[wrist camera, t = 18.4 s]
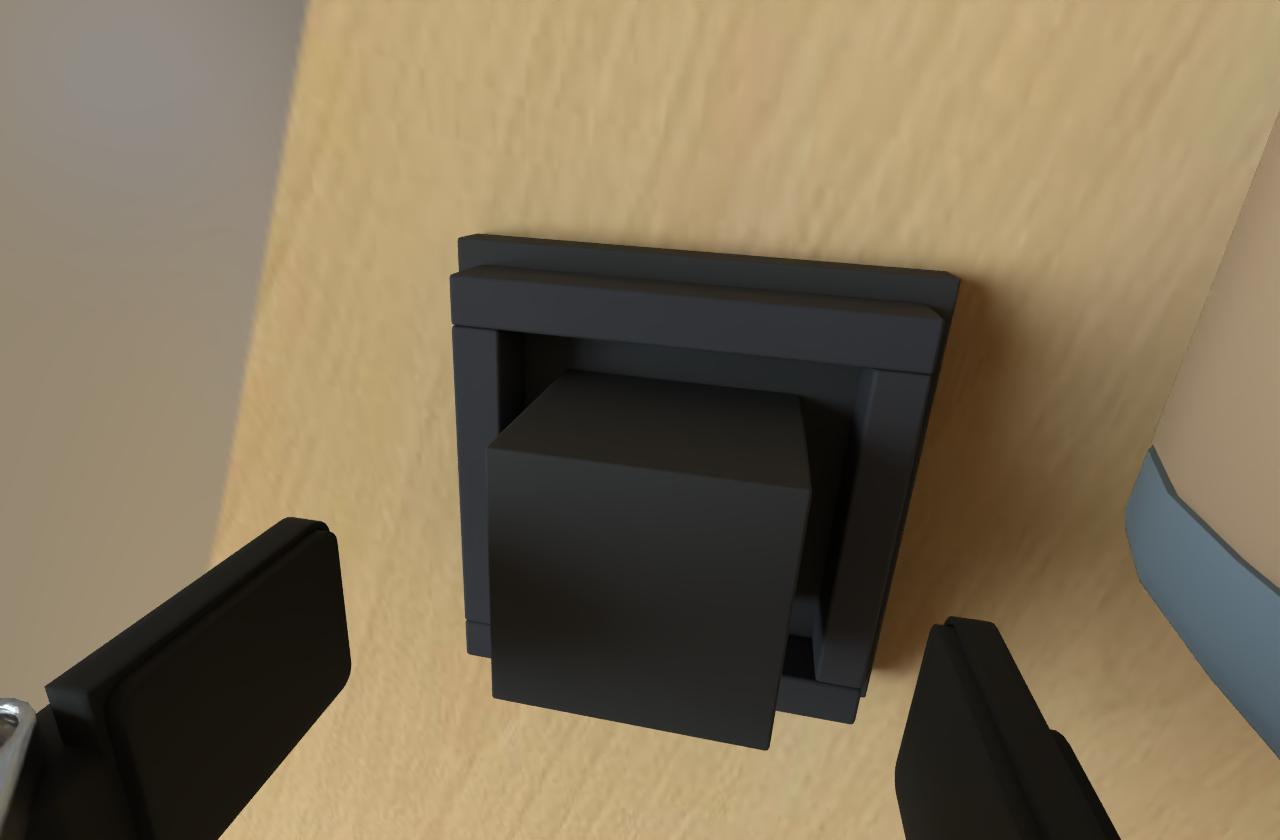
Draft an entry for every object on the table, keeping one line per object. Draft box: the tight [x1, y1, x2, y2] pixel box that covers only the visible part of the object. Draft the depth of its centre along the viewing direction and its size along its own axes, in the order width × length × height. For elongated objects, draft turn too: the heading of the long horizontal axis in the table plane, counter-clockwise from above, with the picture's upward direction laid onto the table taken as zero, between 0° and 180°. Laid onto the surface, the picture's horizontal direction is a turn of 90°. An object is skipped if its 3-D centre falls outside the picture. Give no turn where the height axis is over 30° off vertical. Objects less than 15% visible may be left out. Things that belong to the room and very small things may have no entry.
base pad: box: [450, 234, 961, 724], centre depth 15 cm, size 10×10×2 cm
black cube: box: [485, 369, 812, 751], centre depth 13 cm, size 5×5×4 cm
